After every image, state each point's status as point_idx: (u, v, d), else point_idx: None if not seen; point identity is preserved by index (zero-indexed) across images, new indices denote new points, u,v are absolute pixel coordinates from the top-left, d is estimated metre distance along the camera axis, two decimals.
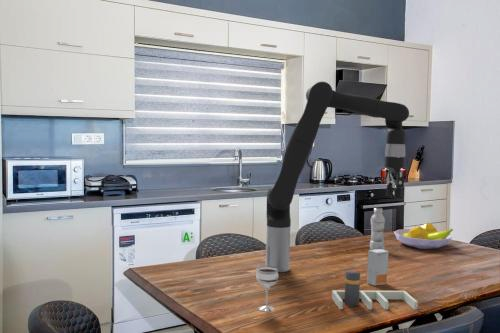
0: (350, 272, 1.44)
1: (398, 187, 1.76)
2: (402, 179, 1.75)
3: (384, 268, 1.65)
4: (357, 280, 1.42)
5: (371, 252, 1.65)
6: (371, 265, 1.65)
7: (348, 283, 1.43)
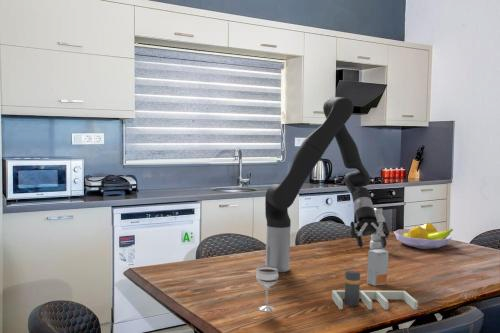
0: (350, 272, 1.44)
1: (387, 236, 1.75)
2: None
3: (384, 268, 1.65)
4: (357, 280, 1.42)
5: (371, 252, 1.65)
6: (371, 265, 1.65)
7: (348, 283, 1.43)
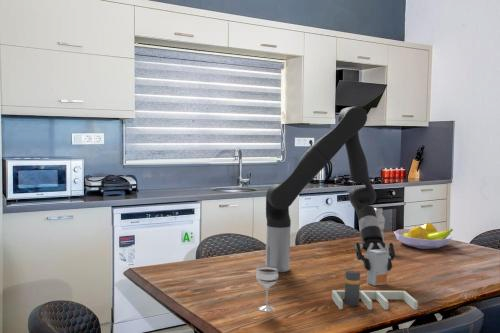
0: (350, 272, 1.44)
1: (393, 258, 1.67)
2: None
3: (384, 268, 1.65)
4: (357, 280, 1.42)
5: (371, 252, 1.65)
6: (371, 265, 1.65)
7: (348, 283, 1.43)
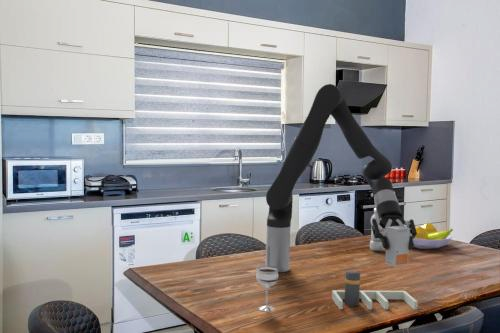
0: (350, 272, 1.44)
1: (414, 235, 1.48)
2: None
3: (405, 247, 1.46)
4: (357, 280, 1.42)
5: (390, 229, 1.46)
6: (390, 244, 1.46)
7: (348, 283, 1.43)
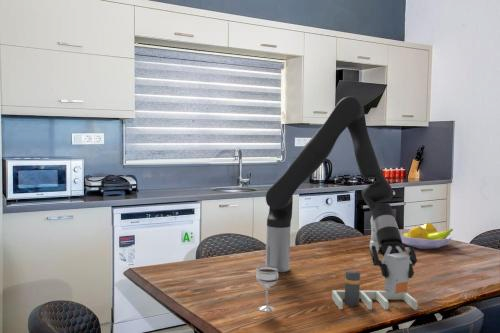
0: (350, 272, 1.44)
1: (414, 263, 1.46)
2: None
3: (404, 275, 1.44)
4: (357, 280, 1.42)
5: (390, 257, 1.44)
6: (390, 272, 1.44)
7: (348, 283, 1.43)
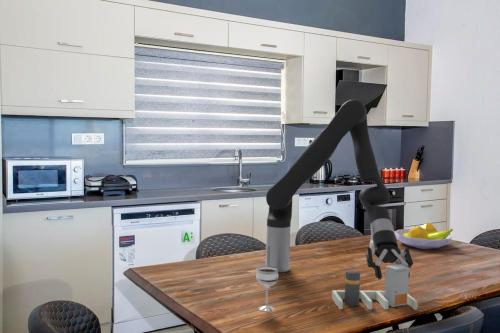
0: (350, 272, 1.44)
1: (411, 265, 1.49)
2: None
3: (404, 286, 1.44)
4: (357, 280, 1.42)
5: (389, 268, 1.44)
6: (389, 284, 1.44)
7: (348, 283, 1.43)
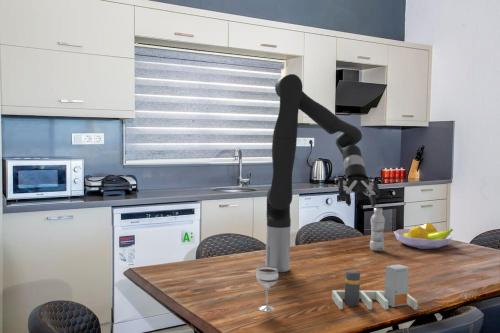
0: (350, 272, 1.44)
1: (378, 194, 1.64)
2: None
3: (404, 286, 1.44)
4: (357, 280, 1.42)
5: (389, 268, 1.44)
6: (389, 284, 1.44)
7: (348, 283, 1.43)
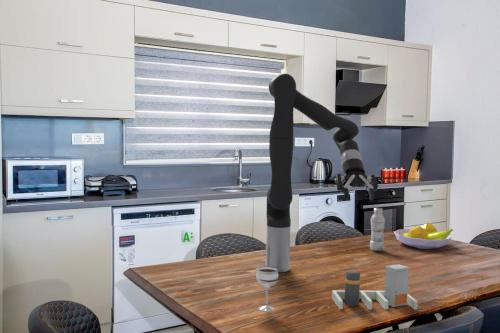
0: (350, 272, 1.44)
1: (376, 188, 1.65)
2: None
3: (404, 286, 1.44)
4: (357, 280, 1.42)
5: (389, 268, 1.44)
6: (389, 284, 1.44)
7: (348, 283, 1.43)
